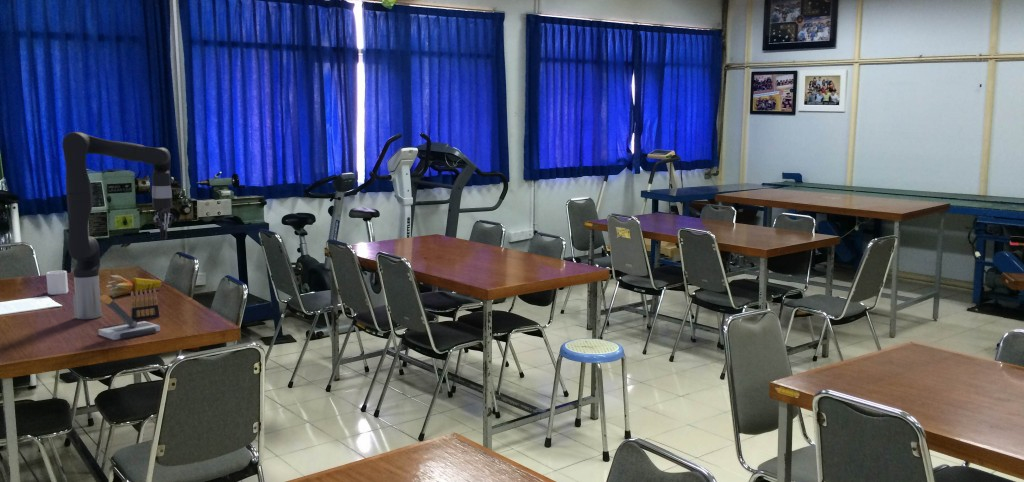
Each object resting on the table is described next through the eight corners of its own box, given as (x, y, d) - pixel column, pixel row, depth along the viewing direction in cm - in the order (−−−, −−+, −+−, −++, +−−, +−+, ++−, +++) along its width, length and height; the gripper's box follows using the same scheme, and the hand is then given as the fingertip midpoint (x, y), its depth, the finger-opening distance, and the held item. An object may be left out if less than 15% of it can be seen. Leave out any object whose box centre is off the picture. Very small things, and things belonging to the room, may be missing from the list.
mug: (69, 293, 415) (68, 272, 413) (49, 295, 410) (47, 274, 408) (65, 289, 424) (64, 268, 423) (45, 291, 420) (43, 270, 418)
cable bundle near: (153, 332, 339) (152, 326, 339) (156, 333, 337) (155, 327, 337) (119, 339, 329) (118, 333, 329) (122, 340, 328) (121, 334, 327)
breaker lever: (133, 322, 341) (103, 294, 332) (138, 323, 339) (108, 295, 329) (129, 326, 340) (99, 298, 331) (134, 328, 338) (104, 300, 328)
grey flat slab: (144, 326, 349) (144, 320, 349) (160, 330, 341) (159, 325, 341) (98, 334, 336) (98, 329, 335) (113, 339, 328) (113, 334, 328)
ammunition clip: (132, 320, 358) (130, 291, 357) (130, 319, 360) (128, 290, 358) (159, 316, 365) (157, 288, 363) (158, 316, 366) (156, 287, 365)
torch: (161, 297, 421) (107, 299, 403) (155, 287, 426) (101, 288, 408) (165, 283, 418) (111, 284, 400) (159, 273, 423) (105, 274, 405)
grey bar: (134, 326, 349) (134, 320, 348) (137, 327, 347) (136, 321, 347) (100, 332, 339) (100, 327, 339) (103, 333, 337) (103, 327, 337)
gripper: (161, 198, 357) (163, 241, 360) (179, 195, 370) (180, 236, 373) (144, 197, 359) (146, 240, 361) (162, 195, 372) (164, 236, 374)
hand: (163, 238), depth 367 cm, fingers closed
